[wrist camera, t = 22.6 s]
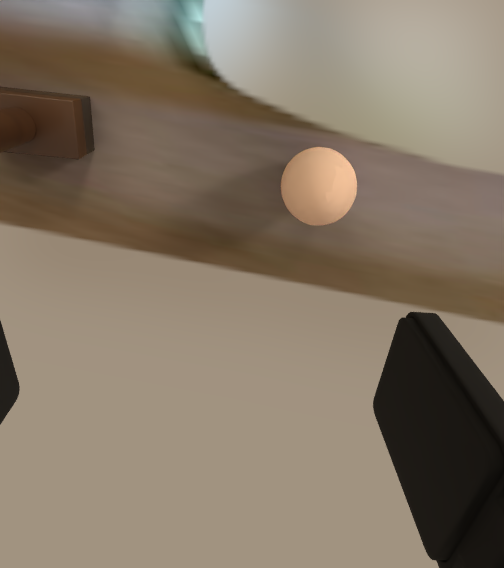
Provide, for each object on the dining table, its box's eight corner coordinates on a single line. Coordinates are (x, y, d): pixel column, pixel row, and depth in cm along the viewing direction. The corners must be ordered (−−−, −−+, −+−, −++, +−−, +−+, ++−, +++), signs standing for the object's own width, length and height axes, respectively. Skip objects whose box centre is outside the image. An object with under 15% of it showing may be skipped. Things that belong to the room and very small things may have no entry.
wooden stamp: (-19, 84, 30) (-105, 92, 22) (89, 96, 30) (40, 108, 23) (-7, 140, 32) (-83, 164, 24) (94, 150, 32) (50, 176, 25)
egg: (264, 183, 34) (269, 214, 27) (305, 125, 32) (322, 142, 25) (316, 219, 36) (332, 255, 29) (358, 165, 33) (387, 192, 27)
